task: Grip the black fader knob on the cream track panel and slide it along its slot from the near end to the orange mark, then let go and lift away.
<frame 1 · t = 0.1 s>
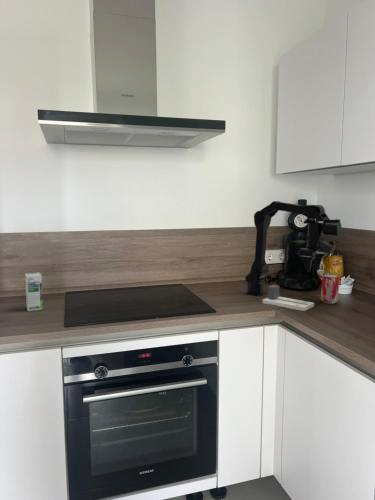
hand: (312, 270, 166), 15 cm above the table, tool pointing down, fingers open, 9 cm apart
soda can: (329, 302, 171), on the table
syrup box: (34, 309, 156), on the table
fader knob: (273, 291, 170), point 5 cm above the table, slide at 0.0 cm
fader panel: (287, 304, 166), on the table
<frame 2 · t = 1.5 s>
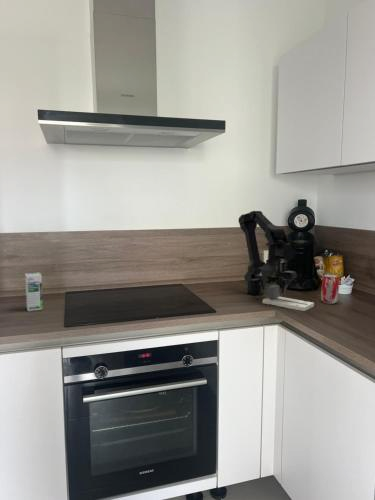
hand: (273, 292, 170), 4 cm above the table, tool pointing down, fingers open, 9 cm apart
nothing on the table moved.
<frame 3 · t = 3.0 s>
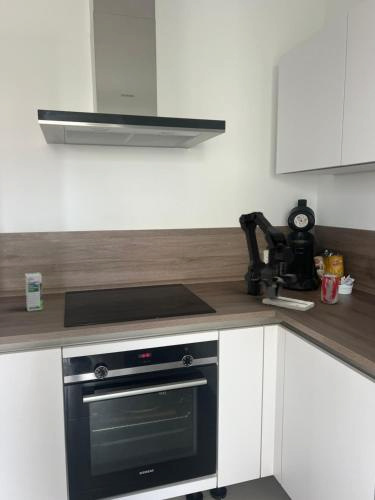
hand: (273, 295, 170), 3 cm above the table, tool pointing down, fingers closed on fader knob, 3 cm apart
fader knob: (273, 291, 170), point 5 cm above the table, slide at 0.0 cm, touching gripper
everything else where it was.
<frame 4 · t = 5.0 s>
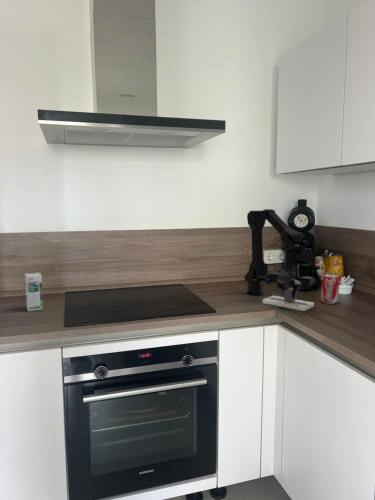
hand: (290, 298, 165), 3 cm above the table, tool pointing down, fingers closed on fader knob, 3 cm apart
fader knob: (290, 294, 165), point 5 cm above the table, slide at 7.9 cm, touching gripper
everything else where it was.
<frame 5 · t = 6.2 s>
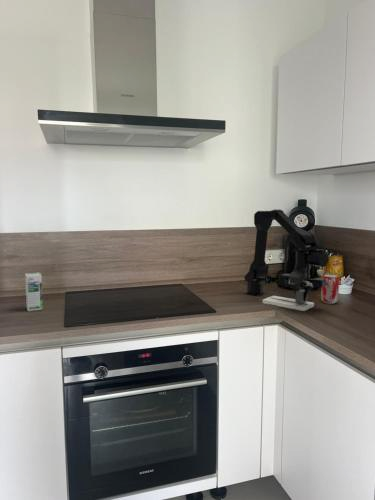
hand: (301, 300, 162), 3 cm above the table, tool pointing down, fingers closed on fader knob, 3 cm apart
fader knob: (301, 296, 162), point 5 cm above the table, slide at 12.8 cm, touching gripper
everything else where it was.
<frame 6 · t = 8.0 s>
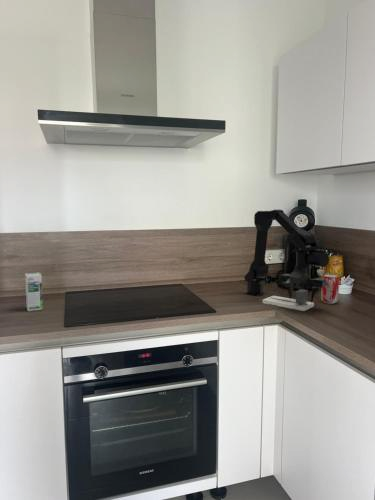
hand: (301, 300, 162), 3 cm above the table, tool pointing down, fingers open, 9 cm apart
fader knob: (301, 296, 162), point 5 cm above the table, slide at 13.0 cm
everything else where it was.
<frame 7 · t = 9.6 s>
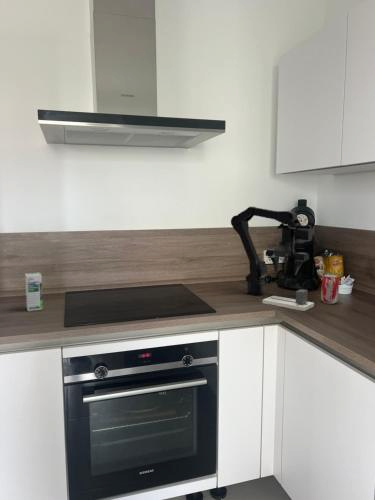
hand: (285, 273, 175), 12 cm above the table, tool pointing down, fingers open, 9 cm apart
nothing on the table moved.
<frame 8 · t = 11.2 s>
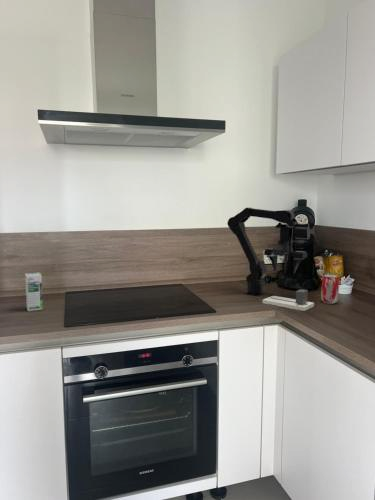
hand: (284, 272, 177), 12 cm above the table, tool pointing down, fingers open, 9 cm apart
nothing on the table moved.
at the end: fader knob slide at 13.0 cm; the gripper is holding nothing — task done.
